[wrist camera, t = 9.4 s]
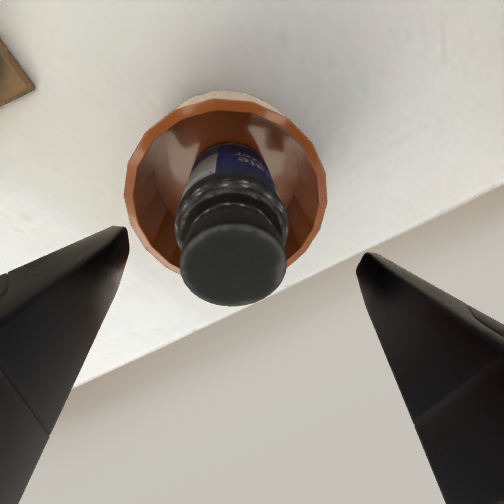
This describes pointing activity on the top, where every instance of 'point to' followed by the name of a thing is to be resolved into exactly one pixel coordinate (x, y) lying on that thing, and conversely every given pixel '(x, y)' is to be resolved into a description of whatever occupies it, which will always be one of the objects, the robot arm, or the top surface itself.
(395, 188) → the top surface
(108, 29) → the top surface
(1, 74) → the figurine
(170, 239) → the bowl
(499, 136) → the top surface
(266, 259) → the pill bottle
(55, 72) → the top surface
